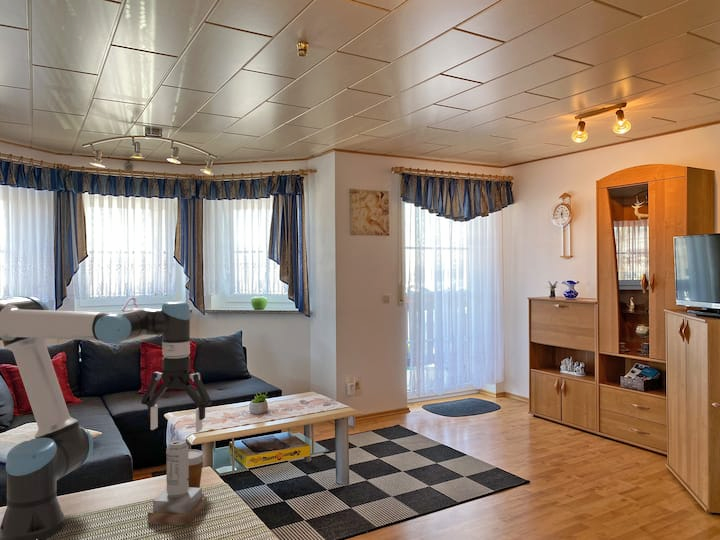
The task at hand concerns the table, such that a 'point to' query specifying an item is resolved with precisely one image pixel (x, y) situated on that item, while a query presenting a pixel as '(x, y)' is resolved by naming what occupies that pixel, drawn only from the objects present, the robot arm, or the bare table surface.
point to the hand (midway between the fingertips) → (176, 429)
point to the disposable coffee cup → (195, 467)
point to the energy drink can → (177, 468)
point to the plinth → (177, 516)
